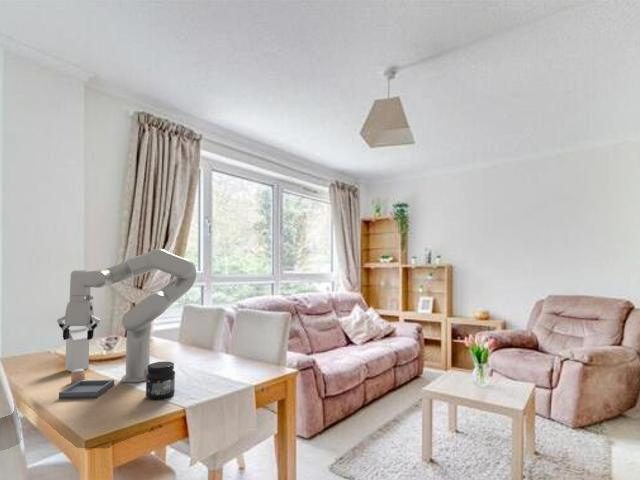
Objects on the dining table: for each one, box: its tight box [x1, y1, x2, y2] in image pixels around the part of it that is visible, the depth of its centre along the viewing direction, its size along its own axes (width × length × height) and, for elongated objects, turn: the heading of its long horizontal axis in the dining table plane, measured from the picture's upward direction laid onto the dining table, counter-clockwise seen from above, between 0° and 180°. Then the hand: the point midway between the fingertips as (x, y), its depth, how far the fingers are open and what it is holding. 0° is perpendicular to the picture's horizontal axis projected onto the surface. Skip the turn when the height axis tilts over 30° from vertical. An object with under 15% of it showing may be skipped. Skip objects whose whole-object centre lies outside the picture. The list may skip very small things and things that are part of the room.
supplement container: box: [145, 360, 176, 401], centre depth 149 cm, size 10×10×12 cm
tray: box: [58, 379, 115, 400], centre depth 152 cm, size 14×14×2 cm
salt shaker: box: [70, 368, 86, 386], centre depth 164 cm, size 5×5×6 cm
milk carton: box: [64, 327, 90, 373], centre depth 183 cm, size 7×7×19 cm
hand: (78, 339), depth 164 cm, fingers open, 9 cm apart
